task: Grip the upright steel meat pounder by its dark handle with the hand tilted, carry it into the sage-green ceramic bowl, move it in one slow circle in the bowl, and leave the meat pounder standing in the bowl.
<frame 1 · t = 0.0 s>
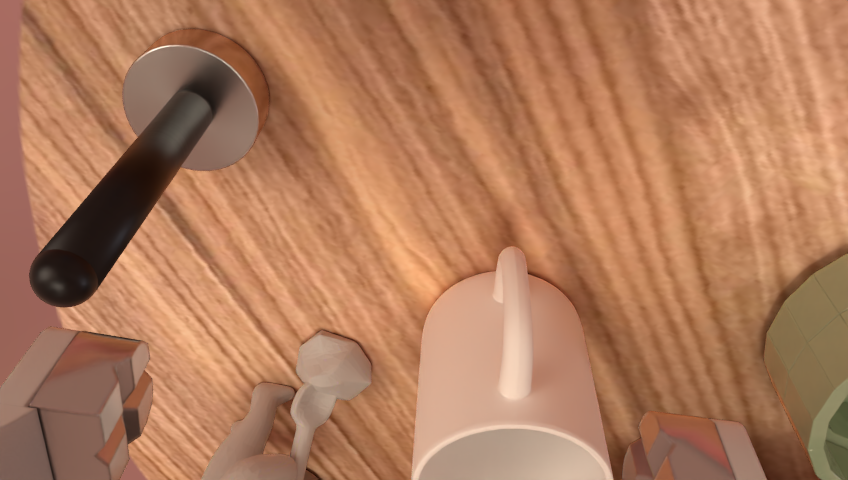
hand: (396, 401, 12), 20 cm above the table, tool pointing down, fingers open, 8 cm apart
cup: (502, 298, 37), on the table
meat pounder: (205, 92, 31), on the table
figurine: (301, 393, 41), on the table
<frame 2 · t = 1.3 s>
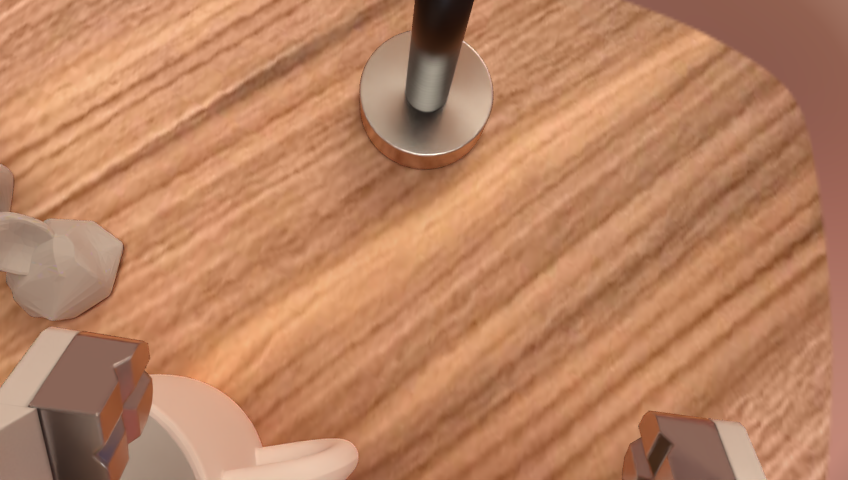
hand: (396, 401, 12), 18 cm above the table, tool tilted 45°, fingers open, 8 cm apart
cup: (213, 470, 29), on the table
meat pounder: (423, 108, 32), on the table
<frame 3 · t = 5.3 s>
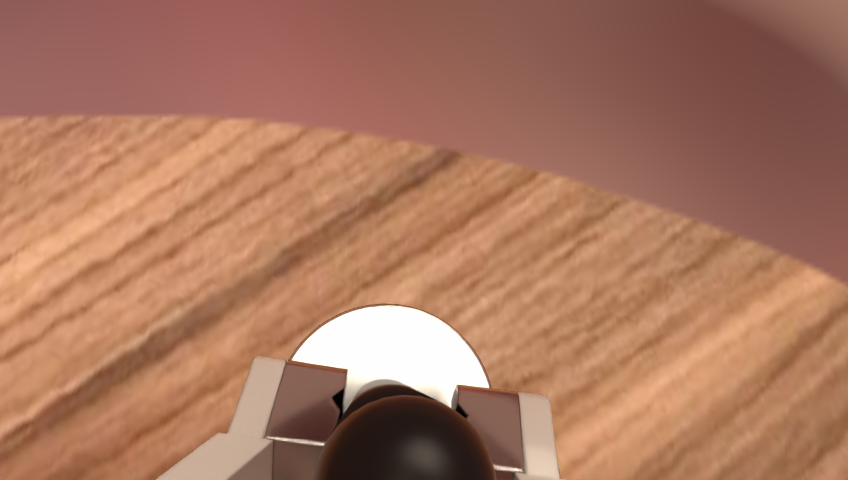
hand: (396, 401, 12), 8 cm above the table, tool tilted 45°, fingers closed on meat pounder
meat pounder: (383, 410, 20), on the table, touching gripper
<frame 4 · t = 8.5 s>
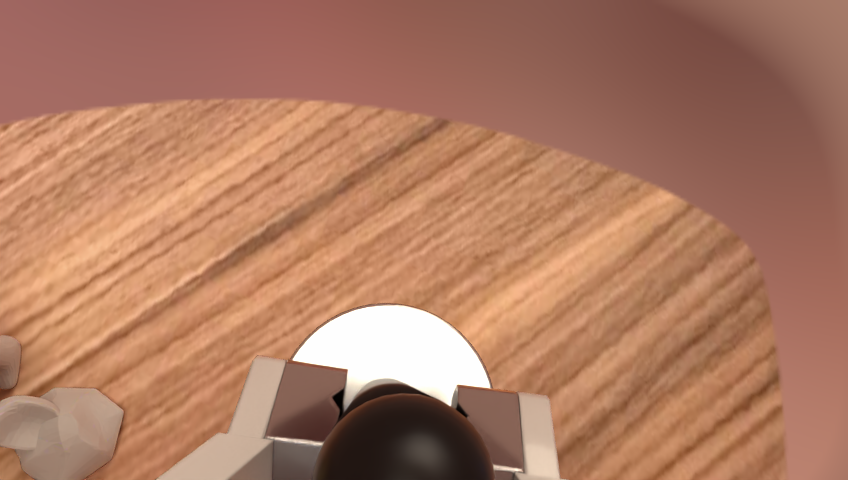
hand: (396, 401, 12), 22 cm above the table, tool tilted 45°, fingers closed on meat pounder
meat pounder: (384, 410, 20), point 13 cm above the table, touching gripper
figurine: (4, 396, 32), on the table
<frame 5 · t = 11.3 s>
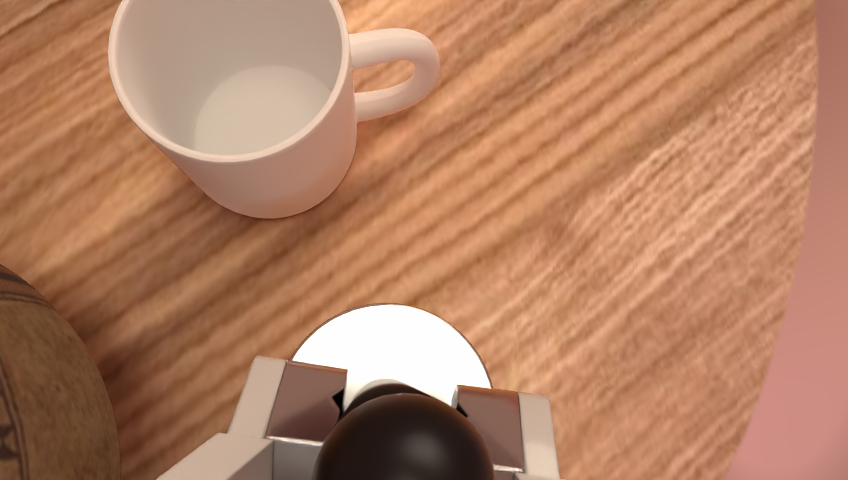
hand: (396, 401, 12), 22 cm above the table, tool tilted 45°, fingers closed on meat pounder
cup: (310, 133, 35), on the table
meat pounder: (384, 409, 20), point 13 cm above the table, touching gripper
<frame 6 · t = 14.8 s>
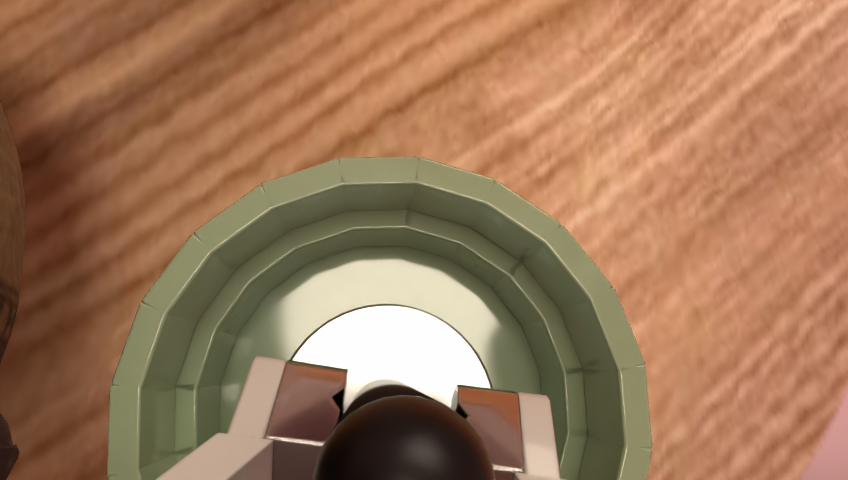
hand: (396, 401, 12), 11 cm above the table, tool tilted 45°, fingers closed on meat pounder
bowl: (383, 403, 23), on the table
meat pounder: (384, 410, 20), point 3 cm above the table, touching gripper
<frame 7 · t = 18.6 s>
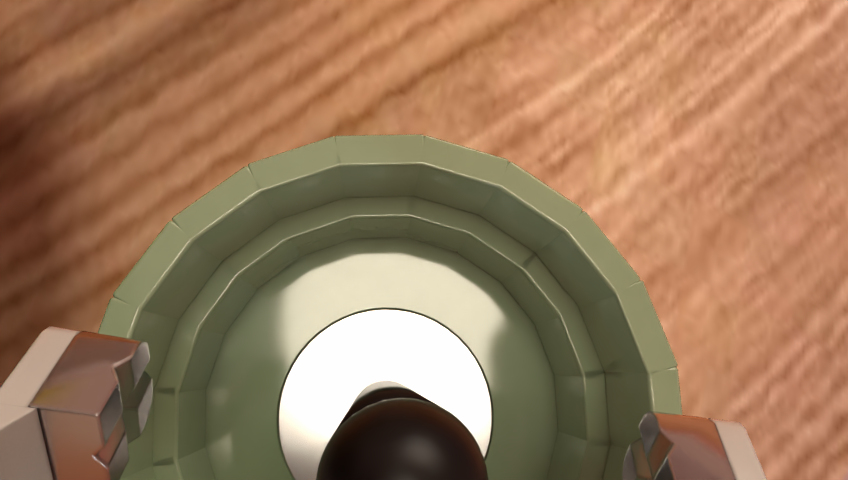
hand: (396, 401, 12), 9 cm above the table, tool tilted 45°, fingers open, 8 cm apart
bowl: (383, 409, 21), on the table
meat pounder: (385, 411, 20), point 1 cm above the table, touching bowl
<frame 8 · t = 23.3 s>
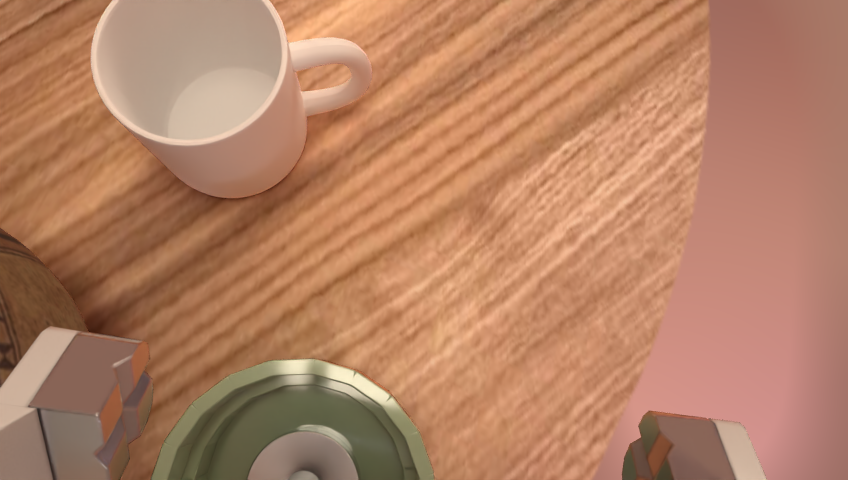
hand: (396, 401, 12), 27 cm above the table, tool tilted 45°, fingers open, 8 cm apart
cup: (268, 126, 41), on the table
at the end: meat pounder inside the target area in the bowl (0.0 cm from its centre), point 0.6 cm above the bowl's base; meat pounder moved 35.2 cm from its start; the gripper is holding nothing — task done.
